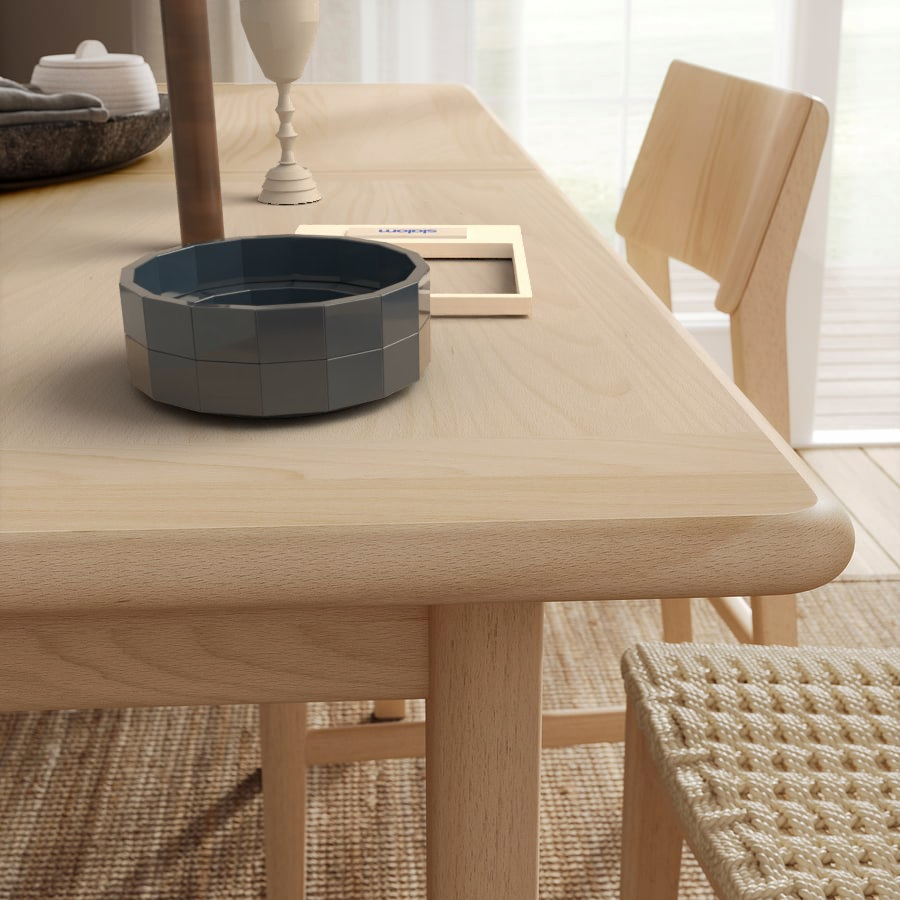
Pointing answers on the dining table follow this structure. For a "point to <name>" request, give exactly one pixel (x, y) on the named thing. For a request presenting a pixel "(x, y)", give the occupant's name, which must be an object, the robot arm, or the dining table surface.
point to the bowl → (276, 324)
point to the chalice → (283, 83)
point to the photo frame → (453, 245)
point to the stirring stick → (192, 119)
